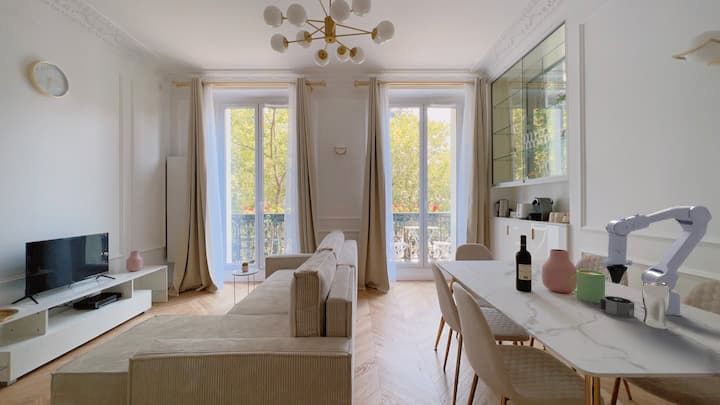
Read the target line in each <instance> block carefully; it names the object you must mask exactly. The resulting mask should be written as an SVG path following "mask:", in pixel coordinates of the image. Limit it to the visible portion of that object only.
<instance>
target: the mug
mask: <svg viewBox="0 0 720 405" xmlns="http://www.w3.org/2000/svg"><path fill="white" fill-rule="evenodd" d="M575 278H576V289H575V288H574V287H573V280H574V279H575ZM569 284H570V288H571V289H572V291H573V292H575V294H576V298H577V299H579V300H581V301H584V302H588V303H590V302H591V303H598V304H600V299H602V297H605V296H606V273H605V272H603V271H599V270H593V269H585V268H584V269H583V268H582V269H577V270H576V274H574V275H573V276H572V277H571V278H570V281H569Z"/></svg>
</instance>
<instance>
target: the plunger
mask: <svg viewBox="0 0 720 405" xmlns="http://www.w3.org/2000/svg"><path fill="white" fill-rule="evenodd" d="M613 302H617V303H623V300H622V299H618V298H613Z"/></svg>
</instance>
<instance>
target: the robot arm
mask: <svg viewBox="0 0 720 405" xmlns="http://www.w3.org/2000/svg"><path fill="white" fill-rule="evenodd" d="M671 219H673V220H675V221H676V222H677V224H679V226H680V227H681V228H682V230H683V231H682V233H681V234H680V235H679V237H678V238H677V239H676V240H675V241H674V243H673V244H672V245H671V247H670V248H669V249H668V251H667V252H666V253H665V254H664V256H663V257H662V259H661V260H660V261H659V262H658V263H656V264H653V265H651V266H649V268H648V269H646V270H644V271H643V272H642V273H641V275H640V276H641V277H640V278H641V280H642V283H643V282H644V281H652V282H659V283H664V284H667V285H668V289H669V303H668V308H667V311H666V315H670V316H678V317H679V316H680V317H681V316H682V314H681V296H680V294H679V292H678V291H677V290H674V289H675V288H676V286H677V281H678V280H679V279H680V277H679V276H680V275H679V274H678V270H679V268H680V267H681V266H682V264H683V263H684V262H685V261H686V259H688V257H689V256H690V254H691V253H692V252H693V250H694V249H695V248H696V247H697V246H698V245H699V243H700V241H702V239H703V238H704V236H705V235H706V233H707V230H708V224H709V223H710V221H711V220H712V219H713V216H712V213H711V212H710V210H709V209H708V207H705V206H703V205H683V204H680V205H676V206H671V207H669V208H666V209H661V210H659V211H656V212H652V213H650V214H646V215H645V214H644V213H643V214H642V213H640V214H639V213H633V214H632V216H628V217H620V219H619V220H617V219H616V220H615V219H613V220H610V221H609V222H607V224H606V226H605V230H606V232H607V233H608V244H607V246H608V247H607V248H608V249H607V258H605V259H604V260H600V266H601V267H605V268H606V270H607V272H608V273H609V276H610V278H611V279H610V280H611V283H613V284H620V283H621V281H622V278H623V276H624V275H625V273H626V271H628V266H633V260H632V259H627V248H628V246H627V245H628V235H629V234H631V232H635V231H639V230H643V229H646V228H649V226H650V224H653V223H657V222H662V221H666V220H671ZM639 306H640V307H641V308H642V309H644V306H643V304H640V305H639Z"/></svg>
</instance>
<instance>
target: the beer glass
mask: <svg viewBox="0 0 720 405" xmlns="http://www.w3.org/2000/svg"><path fill="white" fill-rule="evenodd" d="M641 301H642V305H643V306H644V308H643V311H644V318H643V321H642V324H643V325H644V326H646V327H650V328H653V329H656V330H666V329H667V322H666V315H667V314H666V311H667V308H668V303H669V289H668V285H667V284H664V283H659V282H652V281H644V282H643V281H642V287H641Z"/></svg>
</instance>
